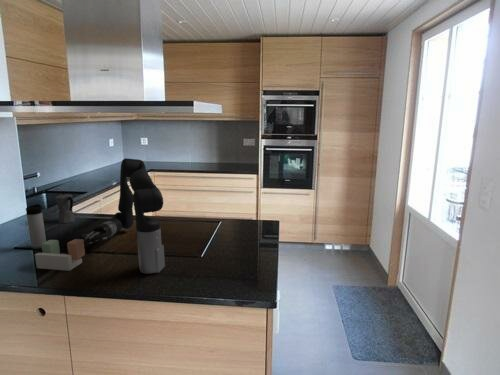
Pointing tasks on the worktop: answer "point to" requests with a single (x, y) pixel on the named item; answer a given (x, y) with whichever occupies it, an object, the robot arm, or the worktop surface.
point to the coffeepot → (65, 208)
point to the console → (56, 261)
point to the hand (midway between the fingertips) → (82, 243)
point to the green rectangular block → (51, 247)
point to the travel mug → (36, 226)
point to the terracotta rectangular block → (76, 248)
